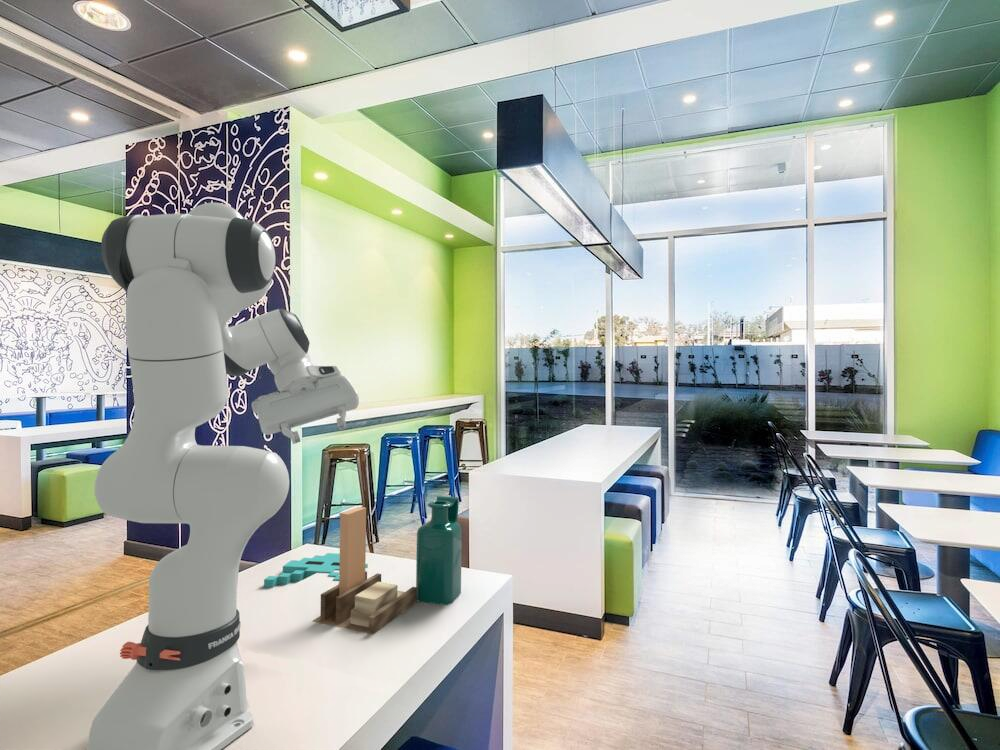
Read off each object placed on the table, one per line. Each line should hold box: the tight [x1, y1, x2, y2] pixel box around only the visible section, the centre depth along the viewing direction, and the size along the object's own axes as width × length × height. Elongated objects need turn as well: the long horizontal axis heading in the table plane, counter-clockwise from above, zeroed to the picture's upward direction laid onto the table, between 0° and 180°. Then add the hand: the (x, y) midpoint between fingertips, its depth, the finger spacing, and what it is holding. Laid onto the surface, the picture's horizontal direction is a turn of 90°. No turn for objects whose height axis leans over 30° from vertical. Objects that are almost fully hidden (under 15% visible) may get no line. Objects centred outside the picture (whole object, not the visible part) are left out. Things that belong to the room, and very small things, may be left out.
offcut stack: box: [351, 581, 405, 627], centre depth 112 cm, size 12×5×5 cm, turn 159°
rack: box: [312, 570, 418, 635], centre depth 113 cm, size 16×14×6 cm
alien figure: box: [263, 552, 369, 588], centre depth 138 cm, size 20×2×20 cm
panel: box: [338, 506, 367, 595], centre depth 114 cm, size 6×2×20 cm, turn 159°
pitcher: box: [415, 495, 463, 606], centre depth 122 cm, size 10×8×22 cm
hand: (320, 433), depth 113 cm, fingers open, 8 cm apart
